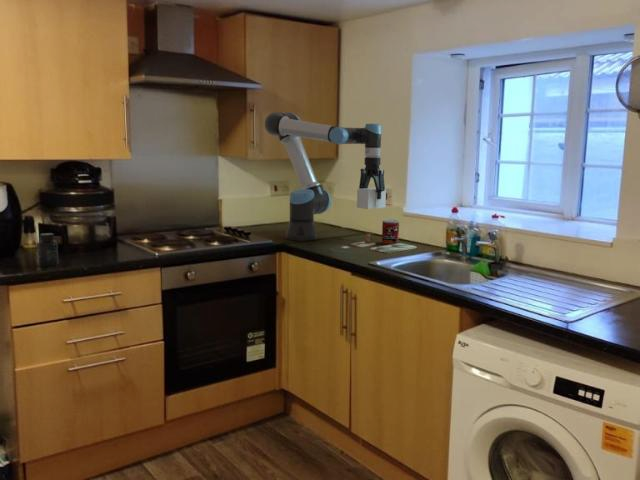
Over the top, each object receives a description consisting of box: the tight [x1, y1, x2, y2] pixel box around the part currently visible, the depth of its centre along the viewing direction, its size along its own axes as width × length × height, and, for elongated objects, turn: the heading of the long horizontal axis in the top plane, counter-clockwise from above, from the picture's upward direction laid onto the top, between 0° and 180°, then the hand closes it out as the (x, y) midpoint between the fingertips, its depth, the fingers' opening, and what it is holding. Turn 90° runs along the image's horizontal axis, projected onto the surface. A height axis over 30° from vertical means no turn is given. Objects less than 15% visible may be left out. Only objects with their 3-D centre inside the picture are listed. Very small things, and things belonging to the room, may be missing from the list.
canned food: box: [381, 218, 400, 246], centre depth 287 cm, size 8×8×11 cm
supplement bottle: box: [37, 232, 59, 268], centre depth 229 cm, size 7×7×12 cm
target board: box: [370, 242, 417, 254], centre depth 275 cm, size 10×20×1 cm, turn 133°
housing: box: [356, 187, 387, 210], centre depth 291 cm, size 8×12×9 cm, turn 129°
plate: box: [350, 233, 376, 248], centre depth 282 cm, size 6×10×5 cm, turn 133°
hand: (371, 205), depth 291 cm, fingers closed on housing, 8 cm apart
